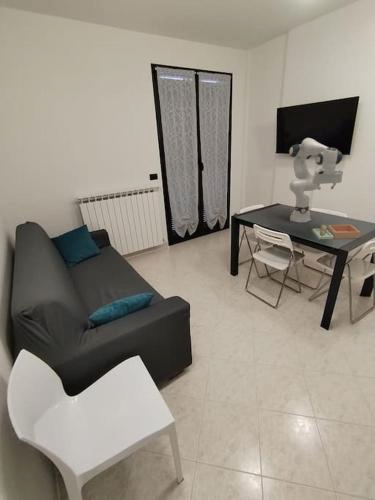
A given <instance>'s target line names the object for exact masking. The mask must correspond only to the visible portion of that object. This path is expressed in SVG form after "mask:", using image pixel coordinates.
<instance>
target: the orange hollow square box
mask: <svg viewBox="0 0 375 500" xmlns="http://www.w3.org/2000/svg"><path fill="white" fill-rule="evenodd" d="M326 229H327V230H328V231H329V232H330V233H331V234H332V235H333V236H334V238H333V240H334V239H335V240H337V239H338V240H339V239H340V240H341V239H343V240H344V239H345V240H346V239H347V240H348V239H351V240H352V239H360V237H361V236H360V235H361V231H359V230H358V228H356V227H354V226H353V225H352V224H327V228H326Z"/></svg>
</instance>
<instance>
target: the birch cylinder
mask: <svg viewBox="0 0 375 500" xmlns="http://www.w3.org/2000/svg"><path fill="white" fill-rule="evenodd" d="M327 227H328V224H320V228H319V229H320V235H321V236H325V234H326V229H327Z"/></svg>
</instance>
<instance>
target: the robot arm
mask: <svg viewBox="0 0 375 500" xmlns="http://www.w3.org/2000/svg"><path fill="white" fill-rule="evenodd" d="M288 153H289V156H290V157H291V158H295V159H294V160H293V170H294V171H293V172H294V175H295V177H296V179H294V180H292V181H290V183H289V190H290V191H291V192H292V193H293V194H294V195H295V206H294V210H293V211H292V212H290V215H289V221H290V222H295V223H308V222H310V221H312V219H311V212H310V197H309V196H308V195H307V194H305V192H311V191H315V190H319V191H320V190H321V185H322V184H323V185H324V184H332V185H331V186H330V189H331V190H334V187H336V185H337V184H340V183H342V181H343V173H344V172H343V170H341V169H339V170H337V169H336V166H337V165H338V164H340V162H342V160H343V158H344V157H343V153H342V152H341V151H340V150H338V148H336V147H329V146H328V145H324V144H322V143H320V142H318V141H317V140H316V139H313V138H310V137H306V138H304V139H303V140H302V141H301V143H300V144H299V143H296V144H294V145H293V144H292V145H291V147H290V148H289V150H288ZM312 156H315V164H316V165H317V166H322V167H321V168H319V169H317V170H315V171H314V174H313V175H312V174H311V173H310V172H309V169H308V166H307V165H308V164H307V160H309V159H310V158H311V157H312Z"/></svg>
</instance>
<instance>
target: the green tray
mask: <svg viewBox="0 0 375 500" xmlns="http://www.w3.org/2000/svg"><path fill="white" fill-rule="evenodd" d="M320 229H321V228H312V233H313V234H314V236H315V237H316V238H317V240H318V241H320V240H334V236H333V235H332V234H331V233H330V232H329V231H328V230H327V228H326V234H325V236H321V235H320Z"/></svg>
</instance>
